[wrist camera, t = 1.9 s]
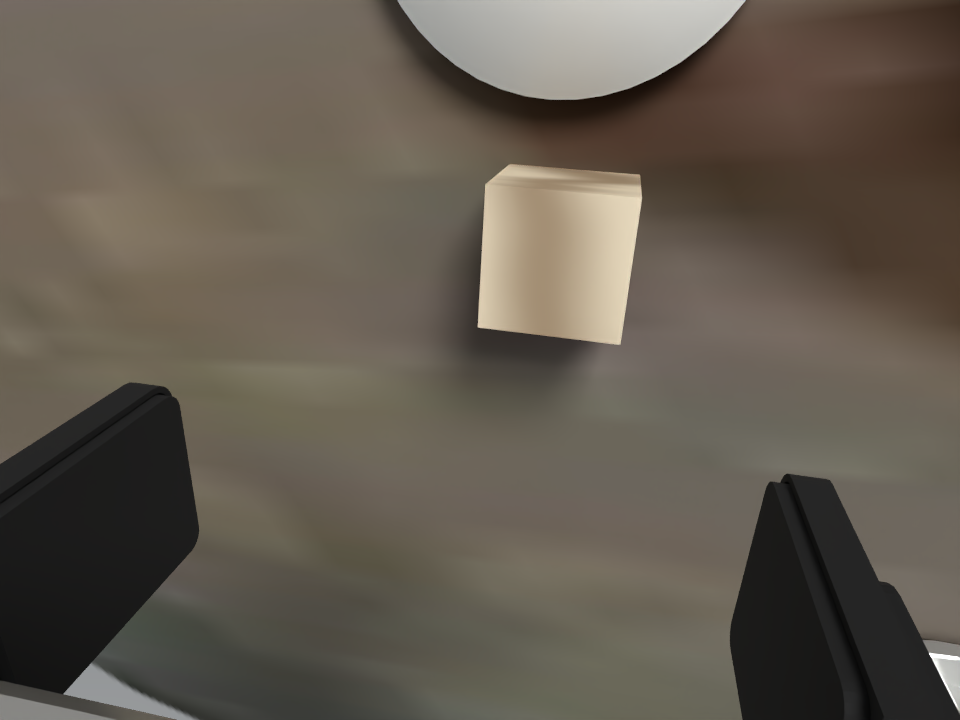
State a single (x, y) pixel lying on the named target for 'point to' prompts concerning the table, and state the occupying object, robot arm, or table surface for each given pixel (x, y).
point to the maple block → (558, 252)
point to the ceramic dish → (567, 40)
